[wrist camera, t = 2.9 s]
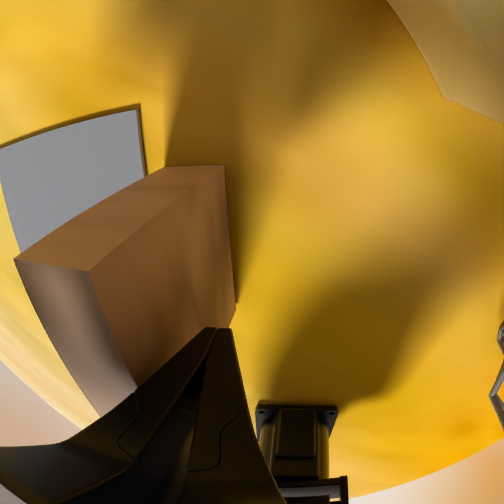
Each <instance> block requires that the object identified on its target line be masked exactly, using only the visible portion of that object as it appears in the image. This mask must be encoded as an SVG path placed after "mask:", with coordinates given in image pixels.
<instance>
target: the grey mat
mask: <svg viewBox="0 0 504 504" xmlns="http://www.w3.org/2000/svg"><path fill="white" fill-rule="evenodd" d="M146 176H147V175H146V168H145V161H144V153H143V144H142V136H141V126H140V116H139V109H136V110H131V111H126V112H121V113H116V114H112V115H107V116H103V117H99V118H94V119H90V120H87V121H83V122H79V123H75V124H72V125H68V126H65V127H61V128H58V129H55V130H52V131H48V132H45V133H42V134H39V135H36V136H33V137H31V138H28V139H25V140H22V141H19V142H17V143H14V144H12V145H9V146H6V147H4V148H1V149H0V181H1V185H2V190H3V194H4V198H5V202H6V206H7V210H8V213H9V217H10V221H11V224H12V227H13V231H14V234H15V237H16V240H17V243H18V246H19V249H20V252H21V253H22V252H23V251H25V250H26V249H28V248H29V247H30V246H32V245H33V244H35V243H36V242H38V241H39V240H40V239H42V238H43V237H45V236H46V235H48V234H49V233H51V232H52V231H54V230H55V229H57V228H58V227H60V226H61V225H63V224H64V223H66V222H68V221H69V220H71V219H72V218H74V217H76V216H77V215H79V214H80V213H82V212H84V211H85V210H87V209H89V208H90V207H92V206H94V205H95V204H97V203H99V202H100V201H102V200H104V199H106V198H107V197H109V196H111V195H113V194H114V193H116V192H118V191H120V190H121V189H123V188H125V187H127V186H129V185H131V184H132V183H134V182H136V181H138V180H140V179H142V178H144V177H146Z"/></svg>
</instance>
